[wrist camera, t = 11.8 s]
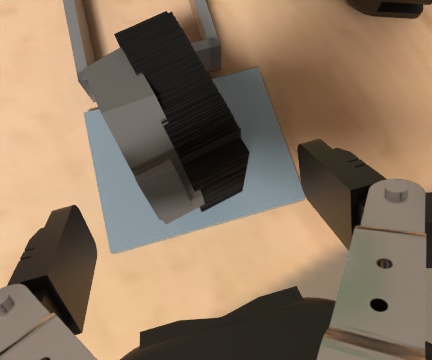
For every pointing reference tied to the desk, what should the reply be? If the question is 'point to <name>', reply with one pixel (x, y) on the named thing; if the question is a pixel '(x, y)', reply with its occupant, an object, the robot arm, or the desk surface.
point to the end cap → (391, 7)
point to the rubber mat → (195, 220)
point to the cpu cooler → (169, 119)
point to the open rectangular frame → (83, 49)
